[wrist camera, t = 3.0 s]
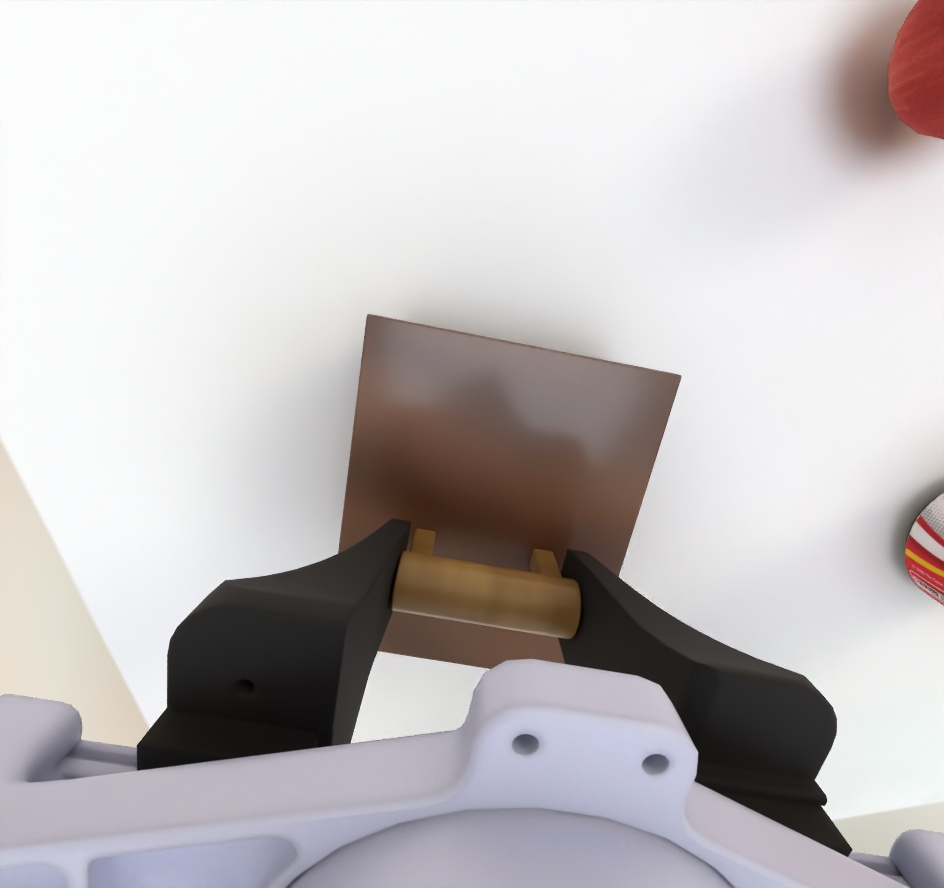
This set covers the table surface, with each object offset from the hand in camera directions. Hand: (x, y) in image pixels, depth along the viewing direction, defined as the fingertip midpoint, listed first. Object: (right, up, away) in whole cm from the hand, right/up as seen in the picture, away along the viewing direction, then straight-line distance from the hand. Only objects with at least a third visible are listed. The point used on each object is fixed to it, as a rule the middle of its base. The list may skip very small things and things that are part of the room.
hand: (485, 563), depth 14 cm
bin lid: (0, +1, +1) cm, 2 cm away
